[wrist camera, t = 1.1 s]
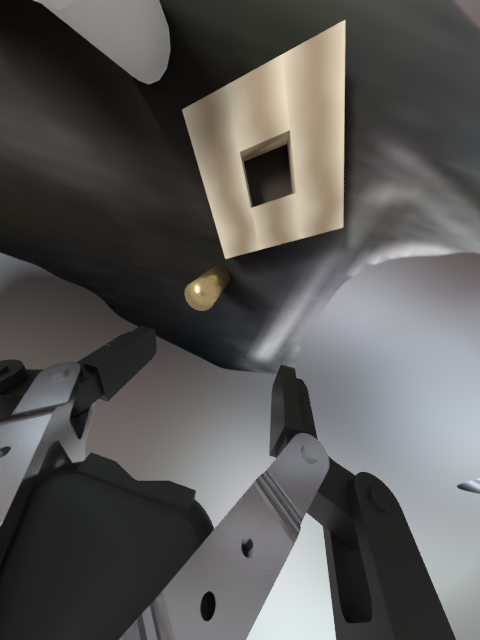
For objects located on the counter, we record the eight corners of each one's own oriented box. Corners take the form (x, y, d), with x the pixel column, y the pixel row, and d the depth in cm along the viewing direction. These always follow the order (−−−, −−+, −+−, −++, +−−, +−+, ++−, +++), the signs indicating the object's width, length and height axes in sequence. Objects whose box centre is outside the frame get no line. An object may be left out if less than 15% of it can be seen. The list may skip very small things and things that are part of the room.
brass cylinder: (212, 289, 32) (191, 313, 23) (205, 268, 30) (179, 285, 22) (232, 284, 31) (218, 307, 22) (226, 262, 29) (208, 278, 21)
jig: (230, 255, 28) (225, 259, 25) (194, 125, 21) (181, 109, 18) (334, 227, 24) (343, 227, 21) (332, 55, 17) (345, 19, 14)
